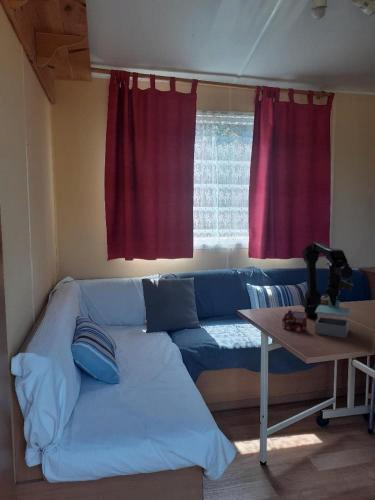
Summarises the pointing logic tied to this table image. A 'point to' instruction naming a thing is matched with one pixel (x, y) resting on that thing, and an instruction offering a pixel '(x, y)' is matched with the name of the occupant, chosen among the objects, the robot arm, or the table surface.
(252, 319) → the table surface
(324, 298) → the cupcake
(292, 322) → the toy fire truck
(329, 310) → the lid
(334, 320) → the tub
